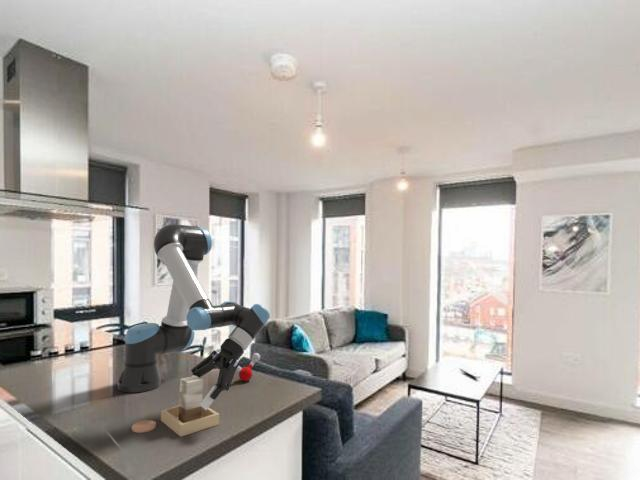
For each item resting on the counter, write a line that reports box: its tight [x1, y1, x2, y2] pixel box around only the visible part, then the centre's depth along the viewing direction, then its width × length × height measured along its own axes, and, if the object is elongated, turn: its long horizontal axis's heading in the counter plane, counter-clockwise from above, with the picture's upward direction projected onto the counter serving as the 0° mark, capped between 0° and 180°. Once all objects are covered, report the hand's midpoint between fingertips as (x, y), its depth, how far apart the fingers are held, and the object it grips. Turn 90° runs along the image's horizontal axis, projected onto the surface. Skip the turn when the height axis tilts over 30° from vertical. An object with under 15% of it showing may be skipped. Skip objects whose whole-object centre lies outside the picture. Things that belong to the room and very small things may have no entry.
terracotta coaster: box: [131, 419, 157, 434], centre depth 109 cm, size 6×6×1 cm
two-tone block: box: [178, 375, 204, 423], centre depth 114 cm, size 5×5×13 cm
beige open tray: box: [160, 405, 220, 438], centre depth 114 cm, size 14×12×4 cm
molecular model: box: [236, 352, 261, 382], centre depth 155 cm, size 18×6×10 cm, turn 156°
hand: (191, 401), depth 113 cm, fingers open, 13 cm apart
